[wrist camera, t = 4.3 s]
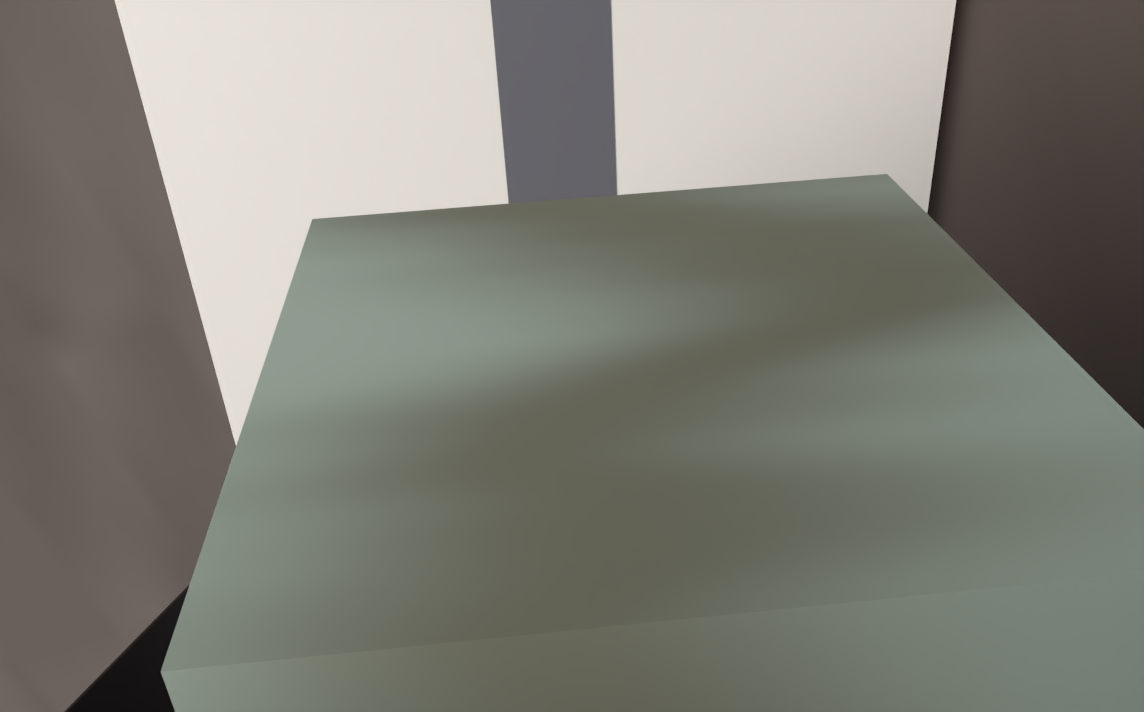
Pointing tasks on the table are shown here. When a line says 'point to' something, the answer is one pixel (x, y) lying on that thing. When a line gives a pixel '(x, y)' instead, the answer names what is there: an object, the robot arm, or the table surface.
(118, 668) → the robot arm
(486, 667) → the sage block
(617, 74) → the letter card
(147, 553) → the table surface
